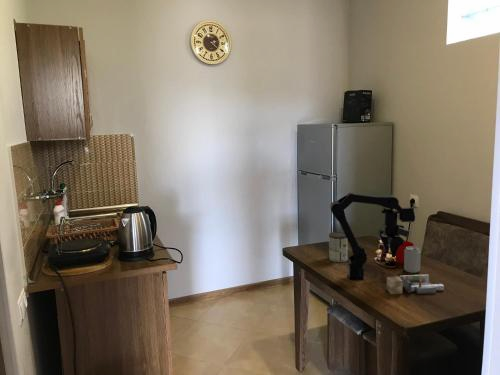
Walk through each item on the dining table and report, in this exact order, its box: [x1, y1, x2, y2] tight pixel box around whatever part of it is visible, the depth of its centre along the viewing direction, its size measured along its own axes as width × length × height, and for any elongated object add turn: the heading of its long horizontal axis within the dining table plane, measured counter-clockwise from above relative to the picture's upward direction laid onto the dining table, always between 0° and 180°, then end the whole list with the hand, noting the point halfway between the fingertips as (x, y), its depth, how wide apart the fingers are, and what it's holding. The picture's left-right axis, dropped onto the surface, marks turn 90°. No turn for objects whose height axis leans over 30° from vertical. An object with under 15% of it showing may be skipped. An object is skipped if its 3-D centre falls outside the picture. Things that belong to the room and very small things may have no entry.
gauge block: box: [386, 276, 403, 295], centre depth 180 cm, size 5×5×6 cm
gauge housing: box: [399, 274, 437, 295], centre depth 181 cm, size 13×9×5 cm
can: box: [403, 246, 421, 274], centre depth 203 cm, size 8×8×12 cm
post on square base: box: [403, 279, 445, 294], centre depth 180 cm, size 16×5×5 cm, turn 91°
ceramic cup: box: [395, 240, 415, 265], centre depth 219 cm, size 13×17×10 cm
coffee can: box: [328, 231, 349, 263], centre depth 224 cm, size 10×10×14 cm
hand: (390, 253), depth 194 cm, fingers open, 9 cm apart
